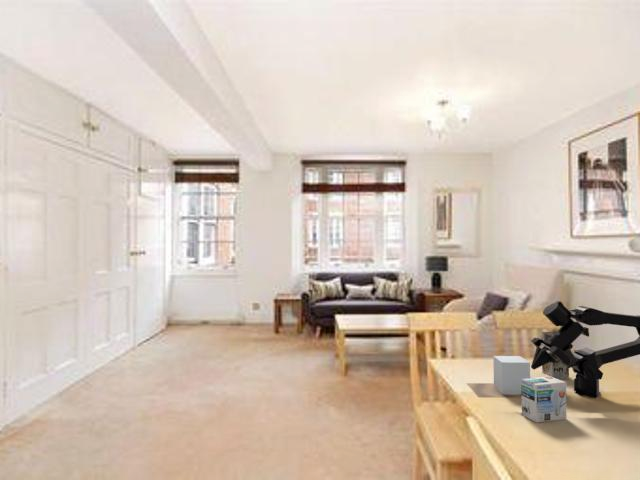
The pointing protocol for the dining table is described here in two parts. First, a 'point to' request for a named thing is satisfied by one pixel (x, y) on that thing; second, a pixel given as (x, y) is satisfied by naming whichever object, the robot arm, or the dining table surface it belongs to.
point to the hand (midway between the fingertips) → (532, 368)
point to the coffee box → (554, 364)
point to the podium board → (488, 390)
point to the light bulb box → (543, 399)
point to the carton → (510, 374)
